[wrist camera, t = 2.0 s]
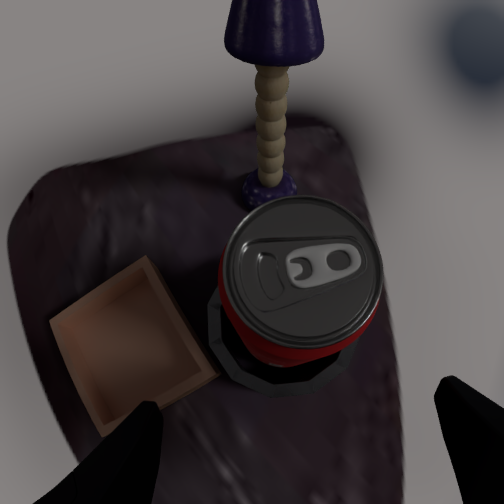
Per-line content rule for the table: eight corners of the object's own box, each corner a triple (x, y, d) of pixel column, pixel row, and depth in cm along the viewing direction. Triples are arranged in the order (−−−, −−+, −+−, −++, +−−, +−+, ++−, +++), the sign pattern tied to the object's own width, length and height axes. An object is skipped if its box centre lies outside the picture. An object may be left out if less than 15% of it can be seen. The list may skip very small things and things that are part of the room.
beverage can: (235, 298, 21) (202, 203, 10) (310, 283, 21) (358, 177, 10) (250, 375, 19) (231, 376, 8) (329, 357, 19) (412, 329, 8)
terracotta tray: (221, 374, 19) (216, 373, 16) (118, 432, 17) (101, 437, 15) (157, 268, 22) (146, 254, 19) (67, 327, 20) (49, 320, 18)
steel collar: (368, 341, 19) (388, 333, 16) (264, 417, 18) (264, 426, 14) (295, 245, 22) (301, 222, 19) (193, 311, 20) (180, 298, 17)
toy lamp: (237, 170, 25) (213, -34, 9) (293, 162, 25) (312, -38, 9) (245, 221, 23) (220, -9, 7) (307, 212, 23) (351, -10, 8)
